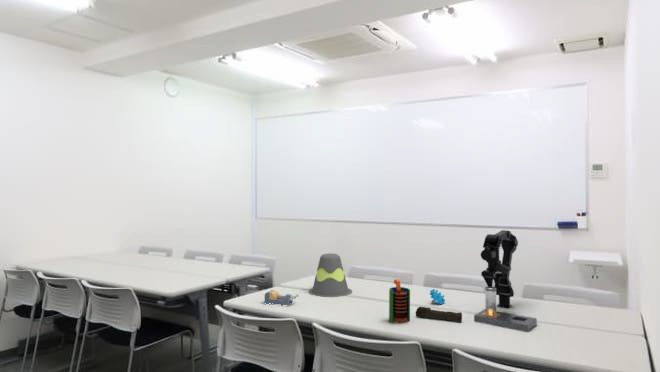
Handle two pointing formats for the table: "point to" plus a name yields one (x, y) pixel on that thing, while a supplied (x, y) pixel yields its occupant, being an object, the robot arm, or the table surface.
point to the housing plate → (506, 320)
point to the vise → (278, 298)
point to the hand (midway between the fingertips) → (493, 288)
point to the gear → (437, 297)
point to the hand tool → (438, 314)
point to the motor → (399, 303)
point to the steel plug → (490, 300)
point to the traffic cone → (330, 278)
